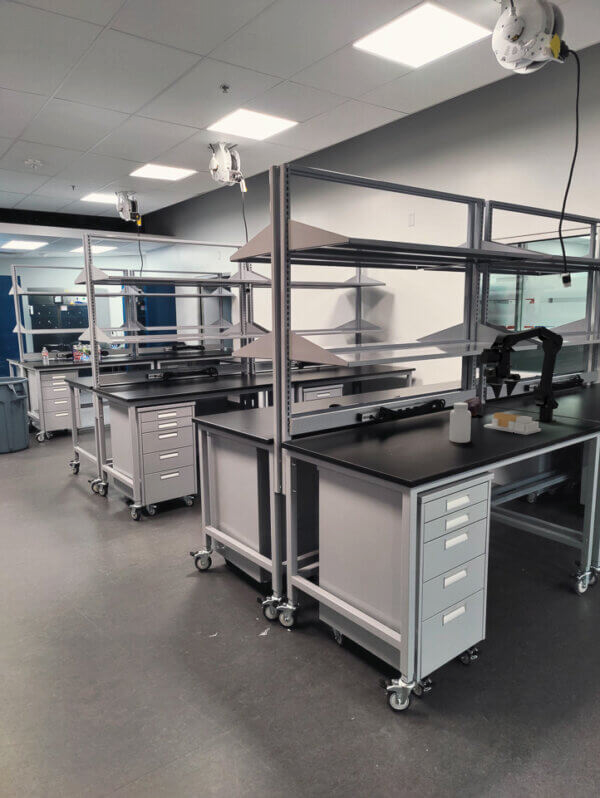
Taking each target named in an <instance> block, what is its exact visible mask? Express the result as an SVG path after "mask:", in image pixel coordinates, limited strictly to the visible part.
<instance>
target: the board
mask: <svg viewBox="0 0 600 798" xmlns="http://www.w3.org/2000/svg"><path fill="white" fill-rule="evenodd" d="M539 422H540V421H536V420H535V421H533V420H532V423H529V424H524V423H518V422H514V421H509V424H508V427H505V426H499V425H498V423H499V419H496V418H494V417H493V418H491V423H486V424H484V425H483V427H484V428H485V429H492V430H497V431H502V432H509V433H513V432H514V433H515V434H520V435H525V436H526V435H530V434H531V435H532V434H535V433H538V432H541V431H542V428H539V427H540V426H539Z"/></svg>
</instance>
